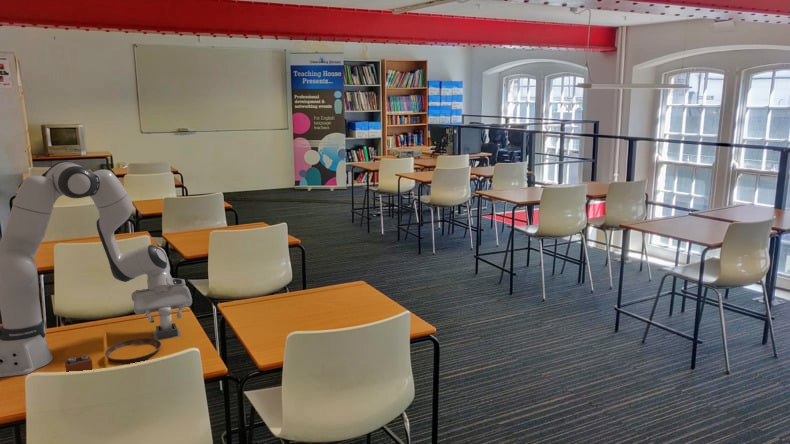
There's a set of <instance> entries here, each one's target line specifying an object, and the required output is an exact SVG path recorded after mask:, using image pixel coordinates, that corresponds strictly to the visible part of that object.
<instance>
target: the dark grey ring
mask: <svg viewBox="0 0 790 444" xmlns="http://www.w3.org/2000/svg"><path fill="white" fill-rule="evenodd" d="M137 344H140V345H141V344H150V345H154V346H156V347H157V349H156V350H154V351H152V352H150V353H148V354H145V355H142V356H137V357H133V358H125V359H121V358H111V357H110V354H111V353H113V352H114V351H116V350H118V349H120V348H123V347H127V346H132V345H137ZM161 347H162V342H161V340H156V339H155V338H148V337H144V338H132V339H130V340H129V339H128V340H125V341H122V342H118V343H116V344H113V345H112V346H110V347H109V348H108V349H107V350H106V351H105V357H106V358H107V359H108V360H110V361H111V362H115V363H119V364H123V365H131V364H130V363H135V362H140V361H143V362H145V360H146V361H148V360H149V359H150V357H153V356H154V355H157V353H158V352H159V351H160V349H161ZM140 363H141V362H140ZM135 364H136V363H135Z"/></svg>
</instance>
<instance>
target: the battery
mask: <svg viewBox="0 0 790 444" xmlns="http://www.w3.org/2000/svg"><path fill="white" fill-rule="evenodd" d="M64 367H65V373H66V372H69V371H83V370H92V369H93V370H94V366H93V360H92V358H91V356H90V355H87V354H85V355H82V356H80V357H70V358H68V359H66V360H65V361H64Z"/></svg>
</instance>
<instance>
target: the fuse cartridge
mask: <svg viewBox="0 0 790 444" xmlns="http://www.w3.org/2000/svg"><path fill="white" fill-rule="evenodd" d="M157 312H158V316H159V326H160V327H161V329H160V331H165V330H171V329H173V328H172V324H173V322H172V321H173V320H172V319H173V318H172V313H173V312H172V309H171V307H169V306H167V307H161V308H159V309H158V311H157Z"/></svg>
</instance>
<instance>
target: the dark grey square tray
mask: <svg viewBox="0 0 790 444" xmlns="http://www.w3.org/2000/svg"><path fill="white" fill-rule="evenodd" d="M172 328H173V329H171V330H165V331H160V329H161V327H160V325H156V326H155V331H153V332H152V334H153V339H156V340H158V341H162V340H166V339H174V338H179V337H182V334H181V332H180V329H179V328H178V327H177V325H176V323H175V322H174V323H173V322H172Z"/></svg>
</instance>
